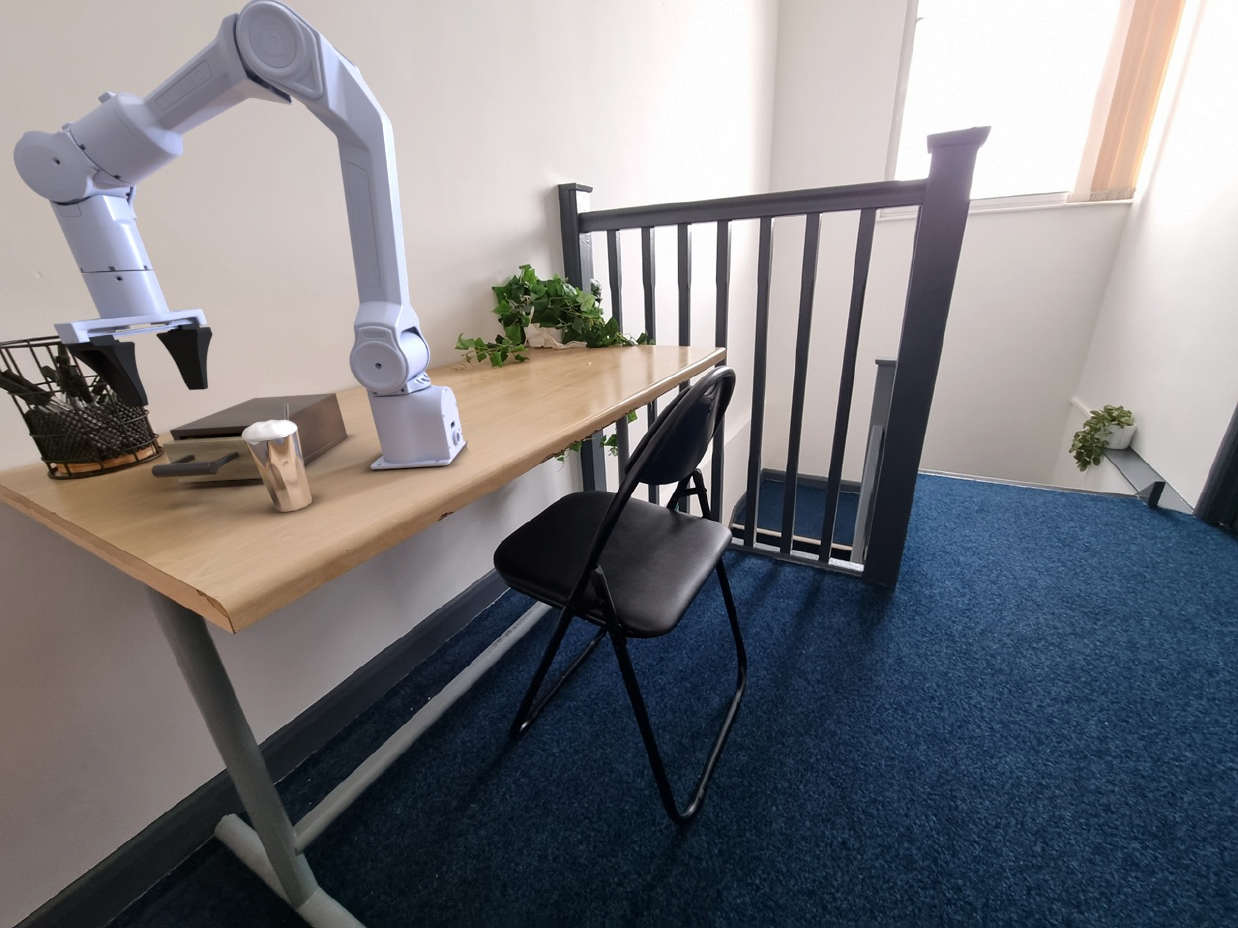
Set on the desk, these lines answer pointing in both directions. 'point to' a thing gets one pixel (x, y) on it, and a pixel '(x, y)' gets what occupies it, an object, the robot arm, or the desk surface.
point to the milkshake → (280, 461)
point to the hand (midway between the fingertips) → (170, 397)
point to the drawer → (208, 459)
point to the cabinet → (308, 412)
